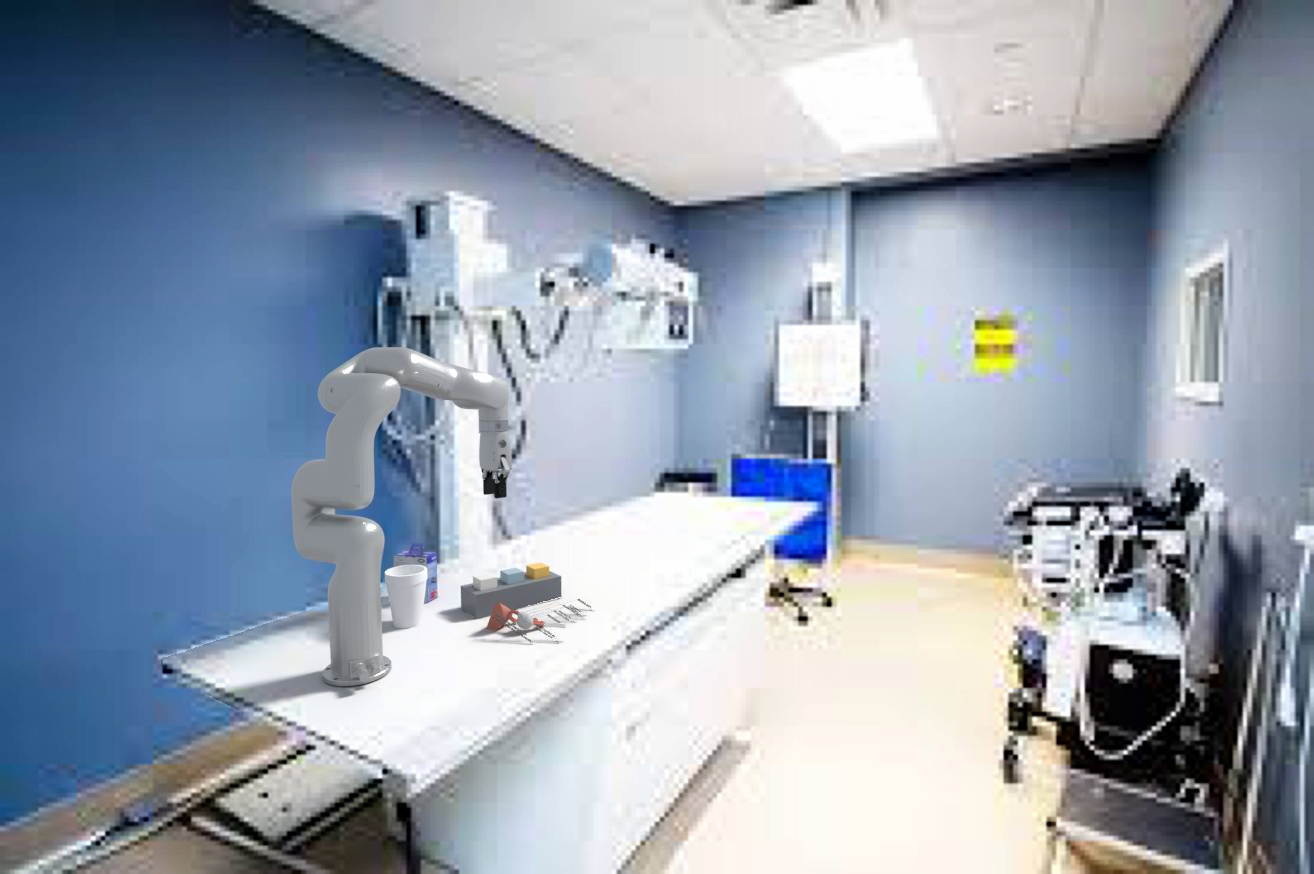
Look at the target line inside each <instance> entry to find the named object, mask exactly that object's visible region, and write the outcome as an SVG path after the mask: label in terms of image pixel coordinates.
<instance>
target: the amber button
mask: <svg viewBox="0 0 1314 874" xmlns="http://www.w3.org/2000/svg"><path fill="white" fill-rule="evenodd" d="M525 567H526V576H528V577H530V578H532V579H539V578H544V577H548V576H549V571H550V566H549V565H547V564H545V563H542V562H536V563H531V564H526V565H525Z"/></svg>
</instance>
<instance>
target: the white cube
mask: <svg viewBox="0 0 1314 874" xmlns="http://www.w3.org/2000/svg"><path fill="white" fill-rule="evenodd" d="M497 578H498V577H497V576H496V575H494V574H492V573H490V572H487V573H482V574H477V575H473V576H472V583H473V587H474V588H475V589H477V590H479V591H484V590H488V589H493V588H497Z"/></svg>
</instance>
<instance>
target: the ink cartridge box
mask: <svg viewBox="0 0 1314 874" xmlns="http://www.w3.org/2000/svg"><path fill="white" fill-rule="evenodd" d="M414 547H420V548H419V549H418V548H414ZM424 548H425V543H415V542H412V543H411V546H410V549H409V551H408V550H404V551H400V552H398V553H396V554H394V555H393V567H396V566H402V565H422V566H425V567H426V568H427V578H428V579H427V580H426V589H425V598H424V604H426V603H429V602H431V601H433V600H435V599H437V598H438V553H437V552H433V551H424Z"/></svg>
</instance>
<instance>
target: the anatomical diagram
mask: <svg viewBox="0 0 1314 874" xmlns="http://www.w3.org/2000/svg"><path fill="white" fill-rule="evenodd" d="M574 601H575V600H574V599H573V600H571V601H568V602H566V604H567V603H570V602H574ZM576 601H578V602H580V603H582V604H583V605H585V606H586V607H587V608H589V607H590V608H591V607H592V606H591V605H589V604H587V603H586V602H585V601H583V600H581V599H580V598H577V599H576ZM556 603H557V604H558V605H556V606H555V605H554V606H553V607H557V606H562V607H560V608H555V609H551V608H552V606H551V607H548V608H545V609H541V608H544V607H546V606H549V605H552V604H556ZM563 608H565V609H567V610H569V611H570V612H572V613H573V614H575V615H576V616H578V615H580V614H578V613H579V612H580V613H581V612H583V611H581V609H578V608H577V607H575V606H574V605H572V604H570V605H568V606H566V605H565V604H562V603H559V602H558V601H555V602H553V603H549V604H546V605H542V606H540V607H539V606H538V607H536V608H533V609H530V610H527V611H519V610H518V609H516V610H510V609H509V608H507V607H506V606H504V605H502V604H500V603H499V602H498V603H497V604H495V605H494V608H493V611H492V614H491V616H489V620H488V622H487V626H486V629H487V630H491V629H492V631H496V630H498V629H500V628H501V627H503V626H505V627H507V628H508V629H510V630H511V631H513V632H515V633H516V634H517V635H518V636H521V637H522V638H523V639H525V640H526V641H527V642H529V641H530V642H531V641H532V640H531V638H530V639H529V638H528V637H527V633H526V632H525V631H524V630H529V629H530V628H531V627H532V626H535V627H536V628H538V631H539V632H541V633H543V634H544V635H545V636H547V637H548V638H550V639H552V638H555V636H556V635H554V634H552V633H551V632H550V630H546V629H545V628H544V627H543V625H544V624H545V625H546V623H545V621H543V620H539V619H538V617H539V618H541V617H543V616H544V617H546V616H547V617H548V618H550V619H552V620H553V621H554V622H556V623H558V624H559V623H561V621H560V620H557V618H554V617H553V616H551V614H552V613H555V614H557V615H558V616H559V617H561V618H562V619H564V620H566V621H567V622H569V621H570V619H571V618H572V616H570V615H567V614H566V613H564V612H563V611H561V609H563ZM537 609H541V610H538V611H536V613H537V614H535V611H534V610H537ZM531 611H533V612H531ZM542 611H545V612H542ZM546 611H547V612H546ZM528 612H529V613H528ZM538 612H541V613H538ZM531 614H533V615H531ZM513 615H517V618H514V617H513ZM569 618H570V619H569ZM538 620H539V621H538ZM510 621H511V622H512V623H513V624H512V623H511V622H510ZM515 623H517V624H516V625H517V626H518V627H519V628H521V629H523V630H521V629H519V628H518V627H517V626H515V625H514V624H515ZM545 625H544V626H545ZM521 637H520V638H521Z"/></svg>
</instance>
